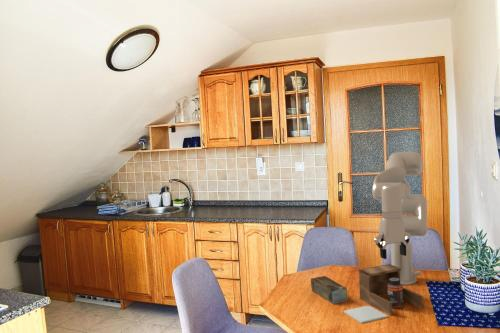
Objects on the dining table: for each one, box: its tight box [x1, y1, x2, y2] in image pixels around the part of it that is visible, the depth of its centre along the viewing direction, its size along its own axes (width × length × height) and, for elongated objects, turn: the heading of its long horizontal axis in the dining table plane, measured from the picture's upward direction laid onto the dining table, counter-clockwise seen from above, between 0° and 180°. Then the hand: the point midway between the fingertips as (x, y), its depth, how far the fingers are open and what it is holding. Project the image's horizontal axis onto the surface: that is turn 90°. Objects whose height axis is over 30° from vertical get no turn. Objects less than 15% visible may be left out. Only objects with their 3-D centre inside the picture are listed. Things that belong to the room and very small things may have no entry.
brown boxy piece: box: [358, 263, 424, 316], centre depth 181 cm, size 16×20×13 cm
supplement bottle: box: [387, 278, 404, 309], centre depth 177 cm, size 6×6×11 cm
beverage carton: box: [310, 275, 348, 305], centre depth 194 cm, size 8×19×7 cm, turn 20°
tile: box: [343, 304, 388, 324], centre depth 171 cm, size 12×12×1 cm
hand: (393, 256), depth 177 cm, fingers open, 9 cm apart
